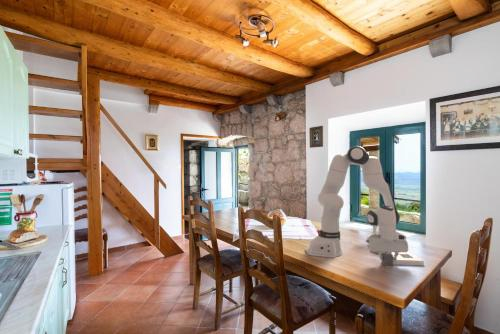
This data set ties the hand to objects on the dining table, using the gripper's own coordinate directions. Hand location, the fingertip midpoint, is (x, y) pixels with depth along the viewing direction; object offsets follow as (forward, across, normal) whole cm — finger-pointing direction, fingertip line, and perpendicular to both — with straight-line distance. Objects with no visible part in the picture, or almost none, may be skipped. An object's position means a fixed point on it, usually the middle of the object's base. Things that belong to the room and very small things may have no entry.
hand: (388, 259), depth 138 cm
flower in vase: (+3, +8, +43) cm, 44 cm away
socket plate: (+3, +10, +7) cm, 13 cm away
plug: (+2, -1, 0) cm, 3 cm away
